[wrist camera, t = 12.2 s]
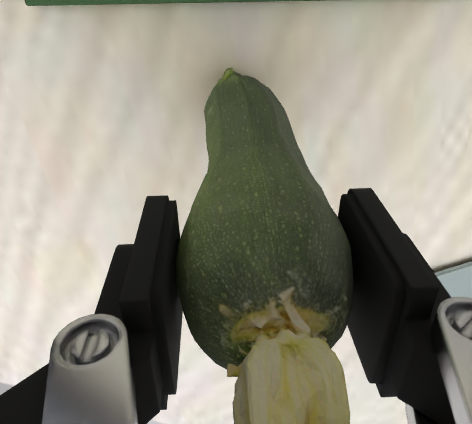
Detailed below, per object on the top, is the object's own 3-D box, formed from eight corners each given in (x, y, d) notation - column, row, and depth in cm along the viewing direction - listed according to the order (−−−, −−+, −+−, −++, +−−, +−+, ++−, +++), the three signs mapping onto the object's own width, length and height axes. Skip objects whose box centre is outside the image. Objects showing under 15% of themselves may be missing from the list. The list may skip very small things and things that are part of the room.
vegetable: (293, 102, 22) (580, 607, 5) (237, 157, 23) (310, 688, 6) (232, 42, 20) (355, 506, 3) (176, 106, 22) (58, 651, 5)
